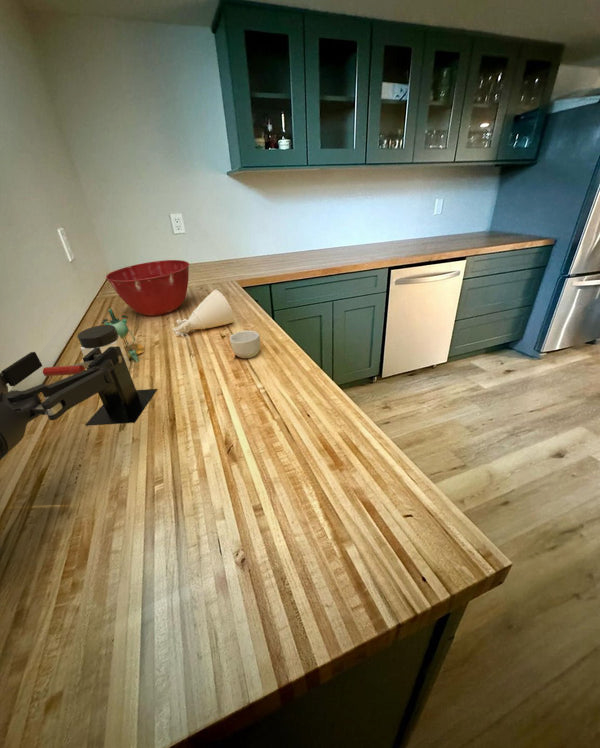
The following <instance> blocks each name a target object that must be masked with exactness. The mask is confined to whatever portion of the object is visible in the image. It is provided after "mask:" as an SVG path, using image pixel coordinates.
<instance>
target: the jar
mask: <svg viewBox="0 0 600 748" xmlns="http://www.w3.org/2000/svg"><path fill="white" fill-rule="evenodd" d="M76 337H77V339H78V342H79V344H80V346H81V347H80V351H81V353H82V355H83V357H84V356H86V355H87V354H88V353H89V352H90V351H92V350H93V349H94V348H100V350H101V352H102V353H103V352H104V351H105V350H107V349H108V348H109V347H116V346H119V347H120V349H121V352H122V354H123V357H124V360H125V362H126V365H127V367H128V370H130V367H131V361H130V359H128V356H127V353H126V351H125V348H124V347H125V346H124V345H125V344H124V343H123V339H121V337H120V335H118V333H117V330H116V328H115V327H114V326H112V325H104V324H102V325H101V324H100V325H95V326H91V327H88V328H86V329H83V330H82V331H80V332H79V333H78V334H77V336H76Z"/></svg>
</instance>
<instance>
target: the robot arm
mask: <svg viewBox="0 0 600 748" xmlns="http://www.w3.org/2000/svg"><path fill="white" fill-rule="evenodd" d="M118 362H119V359H118V356H117V354H116V351H115V348H114V347H109V348H108V349H107V350H105V351H104V352H103V353H102V354H101V355H100V356H99V357H97V358H96V359H95V360H94V361H93V362H92V363H91V364H90V365H88V367H89V369H87V368H86V369H85V371H82V372H80V373H77V374H74V375H69V376H67V377H65V378H62V379H60V380H57V381H55V382H51V383H49V384H45V383H41V384H38V385H35V386H33V387H30V388H28V389H23V390H16V389H15V390H10V391H9V387H16V386H17V385H18V384H20V383H21V382H22V381H24V380H26V379H27V378H28V377H29V376H31V375H32V374H33V373H35V372H37V371H38V370H39V369H40V368H42V367H43V363H42V362H41V360H40V358H39V357H38V354H37V353H36V351H31V352H29V353H27V354H26V355H24V356H22V357H21V358H19V359H18V360H16V361H14V362H13V363H12V364H10V365H9V366H7V367H6V368H4V369H3V370H1V372H0V460H1V459H3V458H5V456H6V455H7V454H9V453H10V451H12V450H13V449H14V448H15V447H16V446H17V445H18V444H19V443H20V442H21V441H22V440H23V439H24V437H25V435H26V434H25V433H26V429H27V425H28V423H30V422H32V421H33V420H36V419H37V418H39V417H40V416H47V418H48V420H50V421H55V420H57V419H60V417H62V416H63V415H64V414H65V413H67V412H68V410H70V409H72V408H74V407H76V406H77V405H80V404H81V403H83V402H84V401H86V400H87V399H89V398H91V397H93V396H95V395H96V394H98V392H100V391H102V390H103V389H105V388H107V387H108V386H110V385H112V384H113V383H114V380H113V378H112V376H111V373H110V371H111V370H112V369H113V368H114V366H115V365H116V364H117V363H118ZM8 385H9V387H8ZM39 393H42V396H43V397H44V400H43V401H42V399H41V397H40V395H39Z"/></svg>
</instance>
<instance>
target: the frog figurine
mask: <svg viewBox="0 0 600 748" xmlns="http://www.w3.org/2000/svg"><path fill="white" fill-rule="evenodd" d="M108 313H109V316H110V317H111V319H110V320H109V319H108V318H105V319H103V320H102V325H112V326H114V327H115V328H116V330H117V333H118V335H120V337H121V340H122V341H123V342H124V345H125V346H124V348H125V351H126V353H127V356H128V359H129V360H133V362H136V363H138V362H139V357H138V355H140V354H142V353H144V352H145V345H144V344H141V343H140V342H139V343H131V344H129V342H128V340H127V335H128V334H129V333H130V335H131V337H132V339H133V341H134V342H136V338H135V337H134V335H133V333H132V332H131V330H130V329H129V327H128V325H127V323H128V319H129V317H128V316H127V315H124V314H123V315H121V316H120V317H121V318H122V319H121V320H120V318H119V317H117V318H116V315H115V313H114V311H113V309H112V308H109V309H108Z"/></svg>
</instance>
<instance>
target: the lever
mask: <svg viewBox="0 0 600 748" xmlns="http://www.w3.org/2000/svg"><path fill="white" fill-rule="evenodd" d="M100 355H101V354H99V355H94V360H95V359H96V358H97V357H99V356H100ZM94 360H91V361H87V362H84V361H83V362H79V363H75V364H71V365H61V366H46V367H43V369H42V374H43V375H44V376H45V377H57V376H58V377H59V376H72V375H75V374H77V373H80V372H82V371H85V370H87V368H89V367H88V365H90V364H91V363H92V362H93V361H94Z"/></svg>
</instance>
